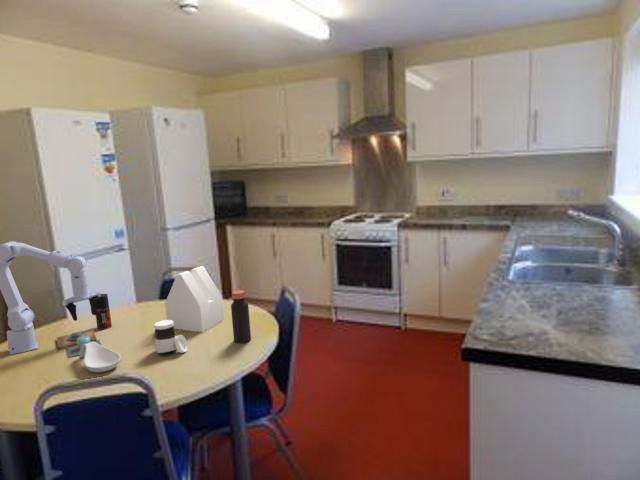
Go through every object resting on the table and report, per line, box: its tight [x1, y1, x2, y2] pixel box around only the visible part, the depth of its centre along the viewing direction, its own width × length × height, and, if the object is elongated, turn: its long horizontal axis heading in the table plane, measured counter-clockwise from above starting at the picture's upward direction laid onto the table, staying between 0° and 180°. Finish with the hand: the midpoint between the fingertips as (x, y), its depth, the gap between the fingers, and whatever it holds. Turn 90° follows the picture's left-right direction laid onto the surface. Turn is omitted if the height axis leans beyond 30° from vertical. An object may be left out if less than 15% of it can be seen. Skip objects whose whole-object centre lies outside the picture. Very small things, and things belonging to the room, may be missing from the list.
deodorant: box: [95, 293, 113, 331], centre depth 203 cm, size 6×6×15 cm
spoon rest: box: [79, 342, 122, 373], centre depth 164 cm, size 24×12×7 cm, turn 48°
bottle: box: [230, 289, 252, 344], centre depth 178 cm, size 7×7×20 cm
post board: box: [56, 329, 98, 351], centre depth 189 cm, size 14×14×3 cm
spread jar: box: [153, 319, 188, 356], centre depth 172 cm, size 12×11×12 cm
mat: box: [66, 339, 102, 359], centre depth 180 cm, size 12×12×1 cm
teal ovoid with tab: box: [77, 336, 90, 350], centre depth 180 cm, size 6×5×4 cm
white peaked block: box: [164, 265, 225, 333], centre depth 200 cm, size 19×15×25 cm
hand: (84, 317), depth 187 cm, fingers open, 7 cm apart
